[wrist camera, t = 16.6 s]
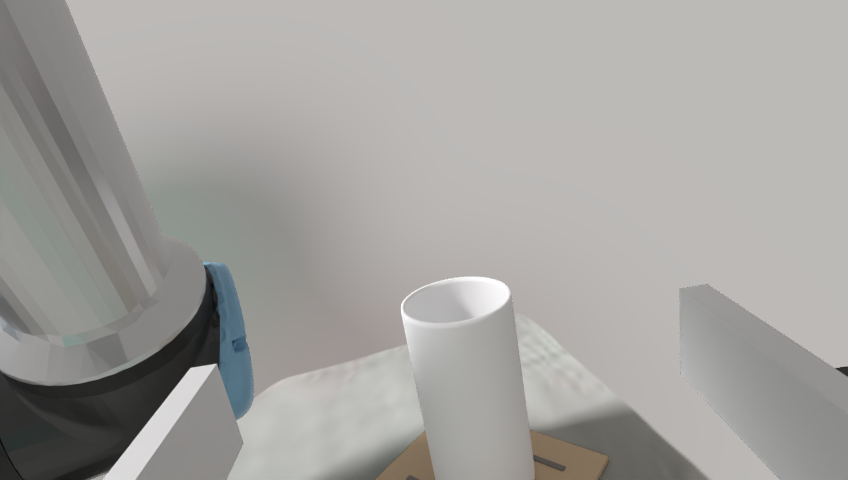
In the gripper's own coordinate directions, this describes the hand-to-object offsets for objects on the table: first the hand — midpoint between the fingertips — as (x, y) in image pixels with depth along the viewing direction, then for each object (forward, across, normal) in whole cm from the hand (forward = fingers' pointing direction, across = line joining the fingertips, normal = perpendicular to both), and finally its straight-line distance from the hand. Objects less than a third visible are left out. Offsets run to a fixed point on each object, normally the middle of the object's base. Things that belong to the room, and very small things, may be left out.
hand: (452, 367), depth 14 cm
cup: (+21, +1, -24) cm, 31 cm away
